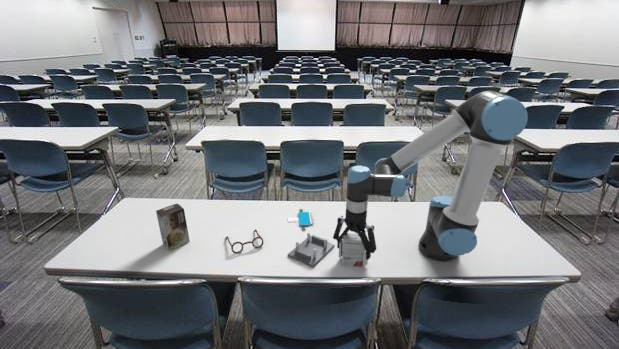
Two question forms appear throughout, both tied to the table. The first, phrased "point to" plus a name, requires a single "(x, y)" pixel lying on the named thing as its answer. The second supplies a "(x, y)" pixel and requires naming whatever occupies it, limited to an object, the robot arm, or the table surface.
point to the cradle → (311, 250)
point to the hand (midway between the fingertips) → (352, 260)
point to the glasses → (245, 243)
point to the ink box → (352, 250)
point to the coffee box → (173, 226)
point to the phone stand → (302, 219)
